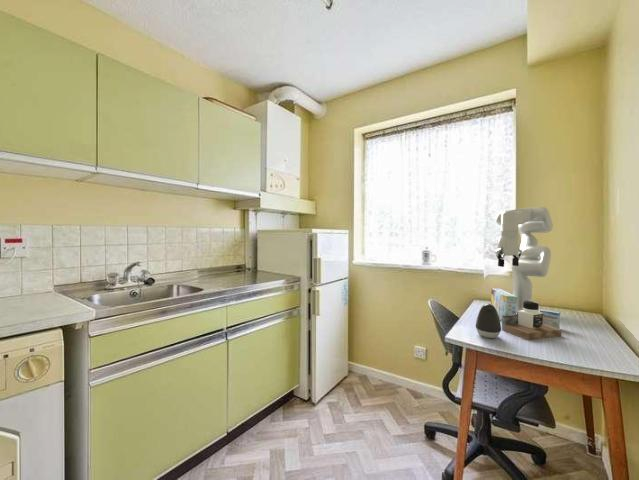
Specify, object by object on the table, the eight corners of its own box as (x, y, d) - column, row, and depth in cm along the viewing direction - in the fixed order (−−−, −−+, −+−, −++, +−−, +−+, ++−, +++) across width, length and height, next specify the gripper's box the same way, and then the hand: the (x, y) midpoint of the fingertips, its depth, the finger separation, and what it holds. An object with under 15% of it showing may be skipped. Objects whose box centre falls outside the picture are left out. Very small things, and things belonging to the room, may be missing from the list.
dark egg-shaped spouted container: (477, 338, 130) (477, 305, 130) (474, 331, 140) (474, 300, 139) (503, 342, 127) (504, 307, 126) (498, 334, 136) (499, 302, 136)
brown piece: (533, 326, 147) (533, 312, 147) (561, 335, 134) (562, 320, 134) (501, 329, 142) (502, 315, 142) (527, 339, 129) (528, 323, 129)
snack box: (517, 325, 149) (518, 296, 149) (505, 324, 150) (505, 295, 150) (500, 313, 170) (500, 288, 169) (489, 312, 171) (490, 287, 171)
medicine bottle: (533, 329, 134) (534, 304, 133) (517, 324, 141) (518, 300, 140) (542, 327, 137) (543, 302, 136) (527, 323, 143) (527, 299, 143)
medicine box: (538, 327, 146) (539, 310, 146) (539, 325, 150) (540, 308, 149) (559, 330, 141) (559, 313, 141) (559, 328, 144) (560, 311, 144)
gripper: (515, 234, 159) (514, 264, 160) (490, 234, 155) (489, 265, 156) (528, 234, 152) (527, 266, 153) (502, 234, 148) (501, 267, 148)
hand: (508, 266), depth 154 cm, fingers open, 9 cm apart
